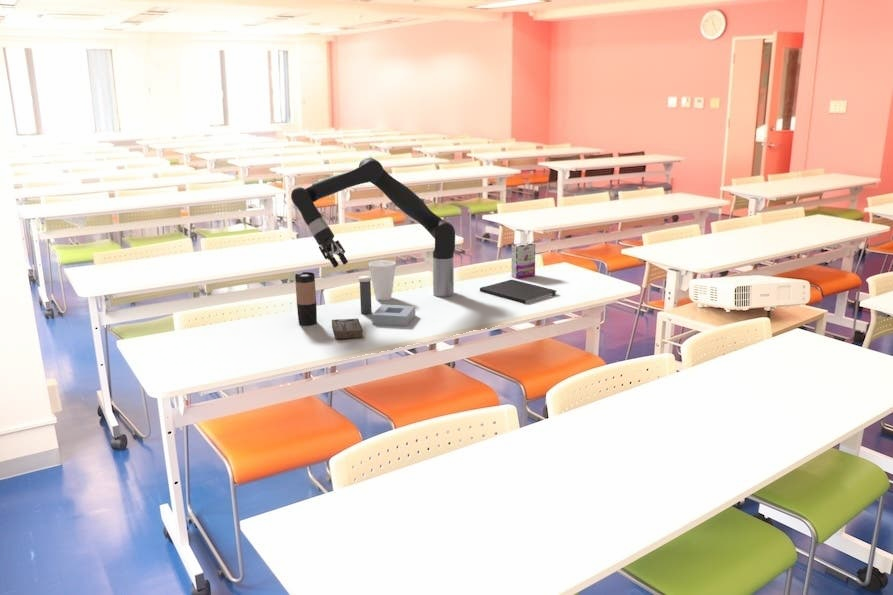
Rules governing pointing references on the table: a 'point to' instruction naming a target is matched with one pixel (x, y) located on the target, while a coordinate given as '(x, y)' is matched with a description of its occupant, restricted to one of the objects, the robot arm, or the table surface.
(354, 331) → the box
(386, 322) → the socket
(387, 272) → the cup
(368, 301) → the plug
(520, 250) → the candy bar box
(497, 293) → the notebook
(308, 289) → the travel mug
